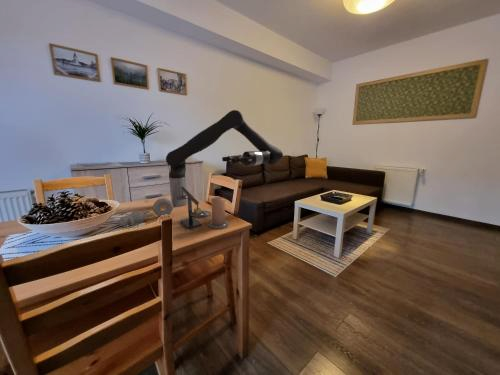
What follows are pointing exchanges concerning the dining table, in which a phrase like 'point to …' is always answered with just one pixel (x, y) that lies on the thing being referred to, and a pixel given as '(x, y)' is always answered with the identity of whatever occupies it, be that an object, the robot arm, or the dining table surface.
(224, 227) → the dish low side
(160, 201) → the donut
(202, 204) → the dining table surface
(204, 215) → the dish high side
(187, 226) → the balance
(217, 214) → the tan round cylinder
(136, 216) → the bunny figurine
